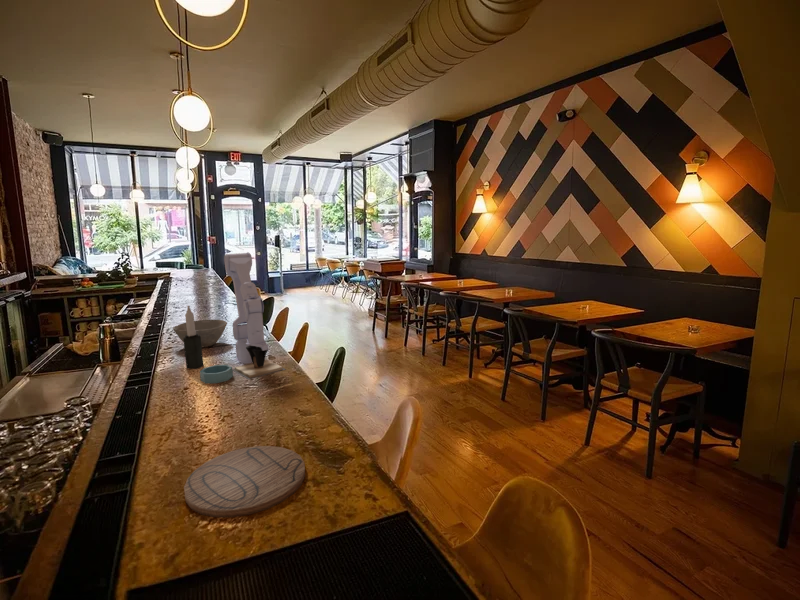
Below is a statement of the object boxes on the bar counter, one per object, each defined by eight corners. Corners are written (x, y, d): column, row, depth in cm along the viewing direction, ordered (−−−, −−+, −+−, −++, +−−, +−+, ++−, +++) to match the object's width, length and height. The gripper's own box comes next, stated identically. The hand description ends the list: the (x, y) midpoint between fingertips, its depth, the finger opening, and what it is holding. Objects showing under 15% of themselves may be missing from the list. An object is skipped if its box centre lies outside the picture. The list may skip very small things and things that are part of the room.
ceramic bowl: (175, 343, 215) (173, 322, 213) (227, 337, 225) (225, 317, 223) (174, 355, 195) (171, 333, 193) (231, 348, 205) (228, 326, 203)
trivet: (263, 443, 117) (262, 436, 116) (328, 475, 101) (328, 468, 101) (163, 488, 98) (162, 480, 97) (224, 537, 82) (223, 528, 82)
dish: (198, 380, 164) (196, 369, 163) (225, 373, 170) (224, 363, 170) (208, 387, 156) (207, 376, 156) (236, 379, 163) (235, 369, 162)
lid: (235, 369, 172) (233, 357, 171) (266, 362, 181) (265, 350, 180) (249, 377, 163) (248, 364, 162) (282, 369, 171) (281, 356, 170)
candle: (204, 366, 180) (198, 304, 175) (197, 370, 175) (191, 306, 170) (192, 366, 180) (185, 304, 176) (185, 370, 175) (178, 306, 171)
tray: (231, 371, 172) (231, 369, 172) (268, 362, 182) (267, 360, 182) (248, 380, 161) (248, 379, 161) (286, 370, 171) (286, 369, 171)
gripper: (237, 329, 172) (240, 363, 174) (253, 335, 161) (256, 371, 164) (254, 325, 176) (257, 359, 179) (272, 331, 166) (274, 367, 168)
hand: (258, 365), depth 171 cm, fingers closed on lid, 3 cm apart
